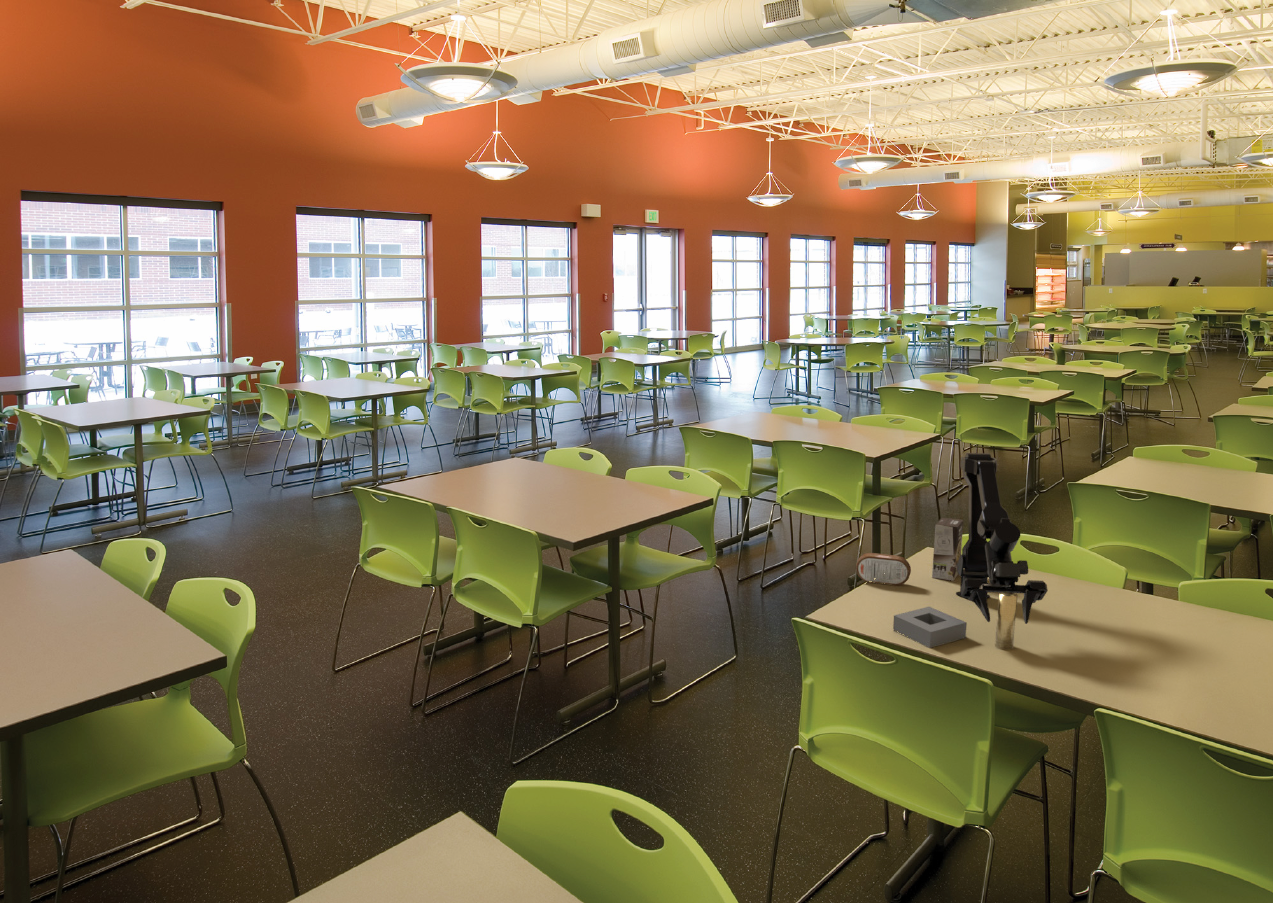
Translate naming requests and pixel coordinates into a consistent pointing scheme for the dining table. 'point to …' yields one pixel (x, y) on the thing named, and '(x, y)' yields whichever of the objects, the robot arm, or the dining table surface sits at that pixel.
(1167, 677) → the dining table surface
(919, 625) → the dock block
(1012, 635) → the peg
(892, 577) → the tin
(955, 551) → the coffee box
